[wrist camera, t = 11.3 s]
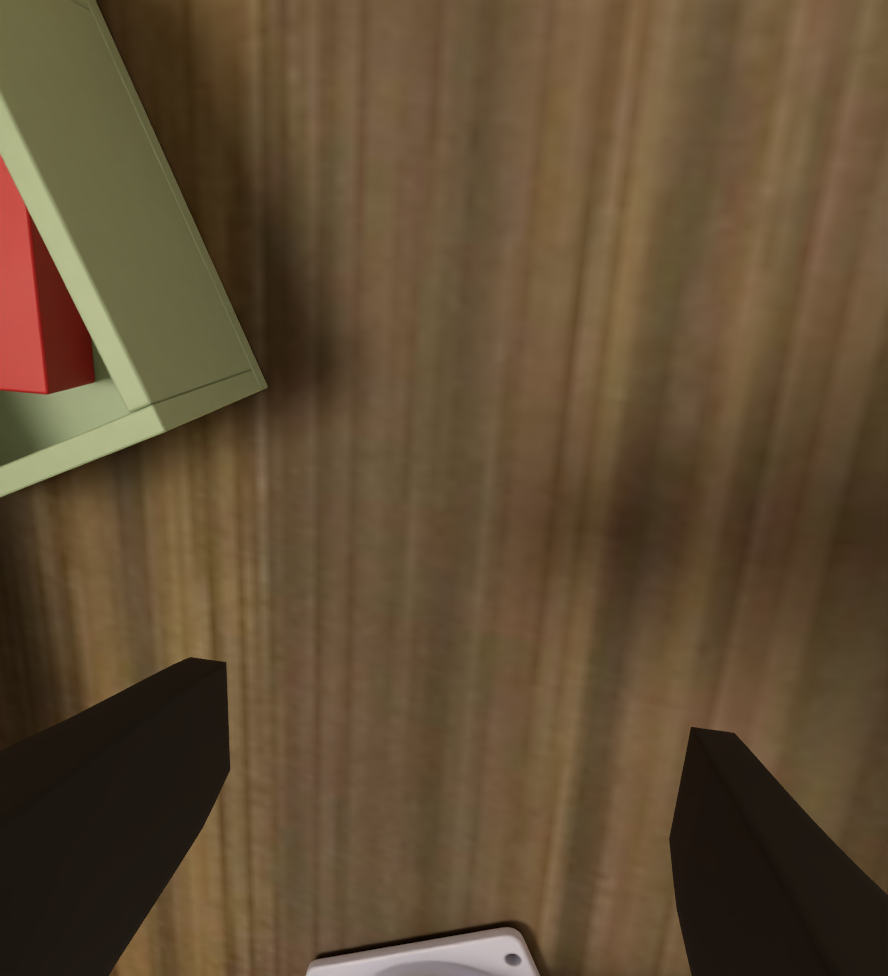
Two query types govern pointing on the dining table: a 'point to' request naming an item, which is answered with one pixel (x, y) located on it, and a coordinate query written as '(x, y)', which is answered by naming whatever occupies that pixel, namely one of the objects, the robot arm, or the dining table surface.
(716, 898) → the robot arm
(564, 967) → the dining table surface
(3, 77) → the green open box
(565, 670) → the dining table surface
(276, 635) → the dining table surface
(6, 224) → the red rectangular block
